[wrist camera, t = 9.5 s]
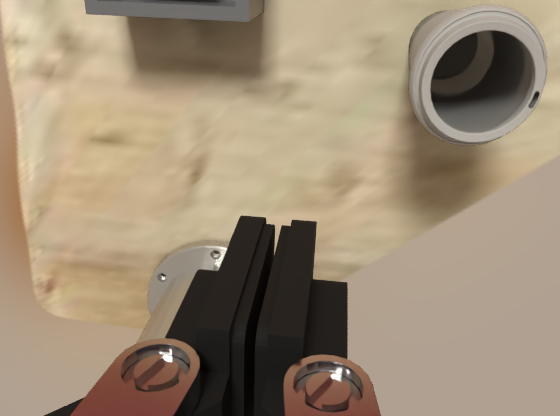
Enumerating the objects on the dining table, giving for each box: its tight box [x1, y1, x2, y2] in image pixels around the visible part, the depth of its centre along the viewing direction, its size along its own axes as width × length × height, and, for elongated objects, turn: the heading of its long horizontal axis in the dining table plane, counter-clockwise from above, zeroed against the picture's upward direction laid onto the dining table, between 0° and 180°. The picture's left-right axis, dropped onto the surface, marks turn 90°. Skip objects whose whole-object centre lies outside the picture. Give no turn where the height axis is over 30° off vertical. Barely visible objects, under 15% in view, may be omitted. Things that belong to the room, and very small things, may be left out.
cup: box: [409, 5, 547, 145], centre depth 32 cm, size 7×7×12 cm
